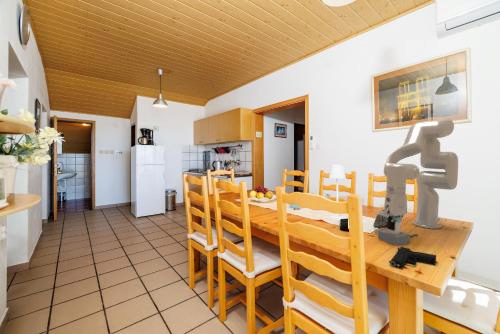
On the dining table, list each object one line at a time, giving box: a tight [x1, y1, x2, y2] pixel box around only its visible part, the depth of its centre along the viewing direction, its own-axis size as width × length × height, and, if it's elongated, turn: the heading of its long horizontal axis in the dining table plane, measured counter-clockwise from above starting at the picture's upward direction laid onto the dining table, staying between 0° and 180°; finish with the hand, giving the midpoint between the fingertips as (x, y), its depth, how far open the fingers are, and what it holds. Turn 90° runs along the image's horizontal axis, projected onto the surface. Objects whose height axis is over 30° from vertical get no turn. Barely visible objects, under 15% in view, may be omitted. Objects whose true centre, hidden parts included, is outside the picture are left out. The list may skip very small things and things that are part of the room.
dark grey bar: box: [410, 233, 419, 239], centre depth 108 cm, size 11×1×1 cm, turn 112°
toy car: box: [339, 218, 350, 232], centre depth 123 cm, size 8×17×5 cm, turn 158°
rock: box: [373, 209, 388, 228], centre depth 126 cm, size 16×8×10 cm, turn 122°
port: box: [377, 228, 411, 247], centre depth 104 cm, size 9×9×4 cm
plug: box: [388, 216, 403, 235], centre depth 103 cm, size 4×4×10 cm
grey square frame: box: [374, 227, 387, 235], centre depth 112 cm, size 7×7×2 cm
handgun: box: [388, 246, 437, 270], centre depth 82 cm, size 3×17×12 cm
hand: (394, 228), depth 103 cm, fingers closed on plug, 3 cm apart
